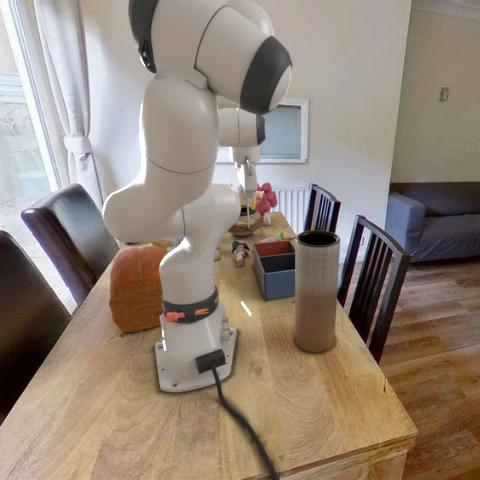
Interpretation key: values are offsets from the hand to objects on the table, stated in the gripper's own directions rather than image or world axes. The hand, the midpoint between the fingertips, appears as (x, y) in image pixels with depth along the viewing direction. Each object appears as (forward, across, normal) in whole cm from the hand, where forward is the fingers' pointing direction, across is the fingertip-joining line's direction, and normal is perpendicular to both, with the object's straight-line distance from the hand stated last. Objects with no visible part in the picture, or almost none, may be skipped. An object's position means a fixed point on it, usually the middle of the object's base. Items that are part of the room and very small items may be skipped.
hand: (247, 199), depth 98 cm
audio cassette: (+26, +42, +41) cm, 64 cm away
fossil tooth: (+27, +17, +17) cm, 36 cm away
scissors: (+27, +29, -19) cm, 44 cm away
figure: (+13, +40, -1) cm, 42 cm away
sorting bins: (+27, -5, -8) cm, 29 cm away
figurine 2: (+22, +28, +11) cm, 37 cm away
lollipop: (+9, 0, 0) cm, 9 cm away
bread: (+27, -9, +31) cm, 42 cm away
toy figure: (+27, +15, +2) cm, 31 cm away
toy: (+19, +58, -6) cm, 62 cm away
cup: (+25, +19, -6) cm, 32 cm away
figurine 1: (+27, +37, +23) cm, 52 cm away
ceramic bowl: (+27, +39, -1) cm, 47 cm away
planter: (+27, -38, -10) cm, 48 cm away
